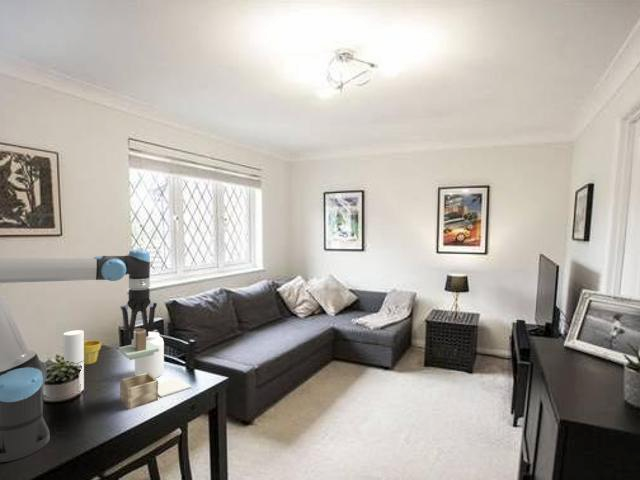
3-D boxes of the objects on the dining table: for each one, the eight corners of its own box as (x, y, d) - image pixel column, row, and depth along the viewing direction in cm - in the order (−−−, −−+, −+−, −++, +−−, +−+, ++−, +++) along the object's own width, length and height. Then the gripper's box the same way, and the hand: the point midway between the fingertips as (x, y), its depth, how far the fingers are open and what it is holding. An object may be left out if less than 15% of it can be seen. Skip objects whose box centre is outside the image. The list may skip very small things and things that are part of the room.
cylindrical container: (73, 395, 144) (73, 335, 144) (59, 393, 146) (58, 334, 145) (87, 387, 151) (87, 330, 150) (74, 385, 153) (74, 329, 152)
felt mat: (160, 398, 144) (160, 396, 144) (149, 387, 153) (149, 385, 153) (191, 388, 153) (191, 386, 153) (178, 378, 162) (178, 377, 162)
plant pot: (105, 358, 184) (105, 340, 184) (91, 366, 174) (91, 347, 174) (87, 357, 185) (87, 339, 185) (71, 365, 175) (71, 346, 175)
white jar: (148, 368, 173) (148, 328, 173) (169, 371, 170) (169, 331, 169) (128, 378, 161) (128, 336, 160) (150, 382, 158) (150, 338, 157)
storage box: (128, 409, 134) (128, 389, 134) (119, 399, 142) (119, 380, 142) (157, 400, 142) (158, 380, 142) (148, 390, 150) (148, 372, 149)
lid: (127, 362, 133) (127, 337, 133) (118, 353, 141) (118, 330, 141) (158, 355, 141) (159, 331, 141) (148, 347, 149) (148, 325, 149)
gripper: (119, 291, 132) (119, 353, 133) (163, 287, 143) (162, 344, 144) (114, 289, 137) (113, 347, 138) (156, 285, 149) (155, 339, 149)
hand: (138, 345), depth 141 cm, fingers closed on lid, 3 cm apart
